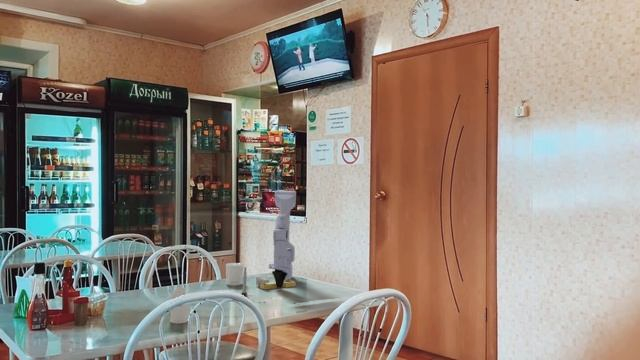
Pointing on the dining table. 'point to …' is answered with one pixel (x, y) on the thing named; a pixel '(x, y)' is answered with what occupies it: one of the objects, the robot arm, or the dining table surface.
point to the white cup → (234, 273)
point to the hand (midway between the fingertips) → (279, 287)
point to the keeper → (261, 281)
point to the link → (273, 285)
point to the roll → (179, 308)
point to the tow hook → (244, 284)
